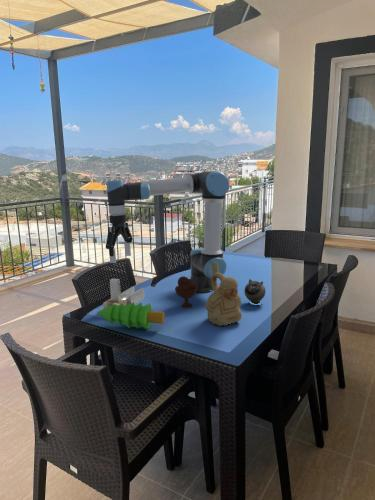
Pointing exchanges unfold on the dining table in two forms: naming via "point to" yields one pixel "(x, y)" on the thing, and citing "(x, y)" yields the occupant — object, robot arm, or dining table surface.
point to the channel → (134, 295)
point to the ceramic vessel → (223, 299)
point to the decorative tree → (132, 315)
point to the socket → (109, 303)
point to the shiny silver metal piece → (117, 291)
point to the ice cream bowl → (186, 290)
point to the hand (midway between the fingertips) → (121, 259)
